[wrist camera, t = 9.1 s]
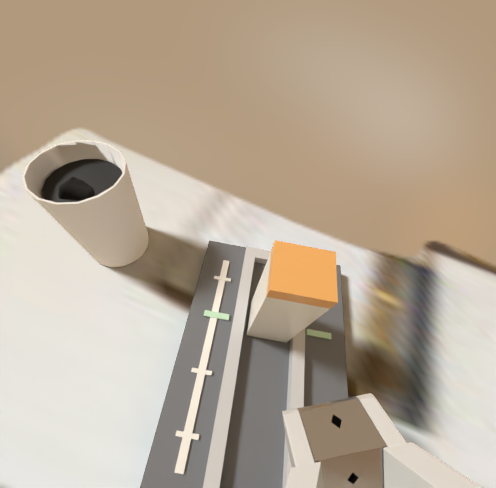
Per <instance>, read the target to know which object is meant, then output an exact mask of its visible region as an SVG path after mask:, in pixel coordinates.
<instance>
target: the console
mask: <svg viewBox="0 0 496 488" xmlns="http://www.w3.org/2000/svg"><path fill="white" fill-rule="evenodd" d="M270 252H271V251H266V250H261V249H256V248H250V247H246V248H245V247H240V246H235V245H229V244H224V243H219V242H214V241H209V244H208V248H207V251H206V255H205V258H204V262H203V265H202V269H201V272H200V276H199V280H198V283H197V287H196V290H195V294H194V297H193V301H192V305H191V308H190V312H189V315H188V319H187V322H186V326H185V329H184V333H183V337H182V340H181V344H180V347H179V351H178V354H177V358H176V362H175V365H174V369H173V372H172V376H171V379H170V383H169V386H168V390H167V394H166V397H165V401H164V404H163V408H162V411H161V415H160V419H159V422H158V426H157V429H156V433H155V436H154V440H153V443H152V447H151V451H150V454H149V458H148V461H147V465H146V468H145V472H144V476H143V479H142V483H141V486H140V488H285V487H286V483H287V480H288V476H289V472H290V469H291V468H292V466H291V462H290V457H289V452H288V447H287V441H286V435H285V429H284V422H283V415H282V411H285V410H290V409H296V408H297V409H298V408H301V407H306V406H312V405H318V404H324V403H326V402H331V401H335V400H340V399H344V398H348V388H347V371H346V354H345V337H344V320H343V303H342V287H341V270H340V265H336V272H337V292H338V303H337V304H336V305H334V306H333V307H332V308H330V309H329V310H328V311H327V312H325V313H324V314H323V315H321V316H320V317H319V318H318V319H316V320H315V321H314V322H312V323H311V324H310V325H309V326H307V327H306V328H305V329H303V330H302V331H301V332H299V333H298V334H297V335H296V336H294V337H293V338H292V339H290V340H289V341H288V342H287V343H286V342H280V341H275V340H269V339H264V338H258V337H253V336H247V335H246V334H247V328H248V321H249V314H250V307H251V301H252V299H253V296H254V294H255V291H256V288H257V286H258V283H259V281H260V278H261V276H262V273H263V270H264V268H265V265H266V263H267V260H268V258H269V255H270Z"/></svg>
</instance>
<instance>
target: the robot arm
mask: <svg viewBox="0 0 496 488" xmlns="http://www.w3.org/2000/svg"><path fill="white" fill-rule="evenodd" d="M282 415H283V422H284V429H285V435H286V441H287V447H288V452H289V457H290V462H291V466H292V468H291V469H290V472H289V476H288V480H287V483H286V487H285V488H482V487H480V486H479V485H477V484H476V483H474V482H473V481H471V480H470V479H468V478H466V477H465V476H463V475H462V474H460V473H459V472H457V471H456V470H454V469H453V468H451V467H450V466H448V465H446V464H445V463H443V462H442V461H440V460H439V459H437V458H436V457H434V456H433V455H431V454H430V453H428V452H426V451H425V450H423V449H422V448H420V447H419V446H417V445H416V444H414V443H413V442H409V443H407V442H406V441H405V439H404V438H403V437H402V435H401V434H400V432H399V431H398V429H397V428H396V427H395V425H394V424H393V422H392V421H391V419H390V418H389V417H388V415H387V414H386V412H385V411H384V409H383V408H382V407H381V405H380V404H379V402H378V401H377V399H376V398H375V396H374V395H372V394H371V393H369V394H365V395H360V396H356V397H355V396H353V397H349V398H344V399H340V400H335V401H331V402H326V403H324V404H318V405H312V406H306V407H301V408H298V409H297V408H296V409H290V410H285V411H282Z"/></svg>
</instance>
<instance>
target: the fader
mask: <svg viewBox="0 0 496 488" xmlns="http://www.w3.org/2000/svg"><path fill="white" fill-rule="evenodd" d="M337 303H338V292H337V272H336V252H333V251H327V250H322V249H317V248H312V247H306V246H301V245H296V244H291V243H286V242H280V241H275V242H274V245H273V247H272V250H271V252H270V255H269V258H268V260H267V263H266V265H265V268H264V270H263V273H262V276H261V278H260V281H259V283H258V286H257V288H256V291H255V294H254V296H253V299H252V301H251V307H250V314H249V321H248V328H247V334H246V335H247V336H253V337H258V338H264V339H269V340H275V341H280V342H286V343H287V342H288V341H289V340H290V339H292V338H293V337H294V336H296V335H297V334H298V333H299V332H301V331H302V330H303V329H305V328H306V327H307V326H309V325H310V324H311V323H312V322H314V321H315V320H316V319H318V318H319V317H320V316H321V315H323V314H324V313H325V312H327V311H328V310H329V309H330V308H332V307H333V306H334V305H336V304H337Z"/></svg>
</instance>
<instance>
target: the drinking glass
mask: <svg viewBox="0 0 496 488" xmlns="http://www.w3.org/2000/svg"><path fill="white" fill-rule="evenodd" d="M22 180H23V185H24V189H25V190H26V191H27V192H28V193H29V194H30V195H31V196H32V197H33V198H34V199H35V200H36V201H37V202H38V203H39V204H40V205H41V206H42V207H43V208H44V209H45V210H46V211H47V212H48V213H49V214H50V215H51V216H52V217H53V218H54V219H55V220H56V221H57V222H58V223H59V224H60V225H61V226H62V227H63V228H64V229H65V230H66V231H67V232H68V233H69V234H70V235H71V236H72V237H73V238H74V239H75V240H76V241H77V242H78V243H79V244H80V245H81V246H82V247H83V248H84V249H85V250H86V251H87V252H88V253H89V254H90V255H91V256H92V257H93V259H95V260H96V261H97V262H98V263H99V264H101V265H104V266H108V267H122V266H126V265H128V264H130V263H133V262H135V261H136V260H137V259H139V258H140V257H141V256H142V255H143V254H144V253H145V251H146V249H147V247H148V243H149V236H148V233H147V229H146V226H145V223H144V220H143V216H142V213H141V210H140V207H139V203H138V200H137V197H136V194H135V190H134V187H133V184H132V181H131V177H130V174H129V171H128V168H127V164H126V162H125V160H124V158H123V156H122V154H121V152H120V151H118V150H117V149H115V148H114V147H112V146H111V145H109V144H106V143H102V142H98V141H94V140H74V141H70V142H65V143H60V144H56V145H54V146H52V147H50V148H48V149H46V150H44V151H42V152H40V153H38V154H37V155H36V156H35V157H34V158H33V159H32V160H31V161H30V162H28V163H27V165H26V168H25V170H24V172H23V175H22Z"/></svg>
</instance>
